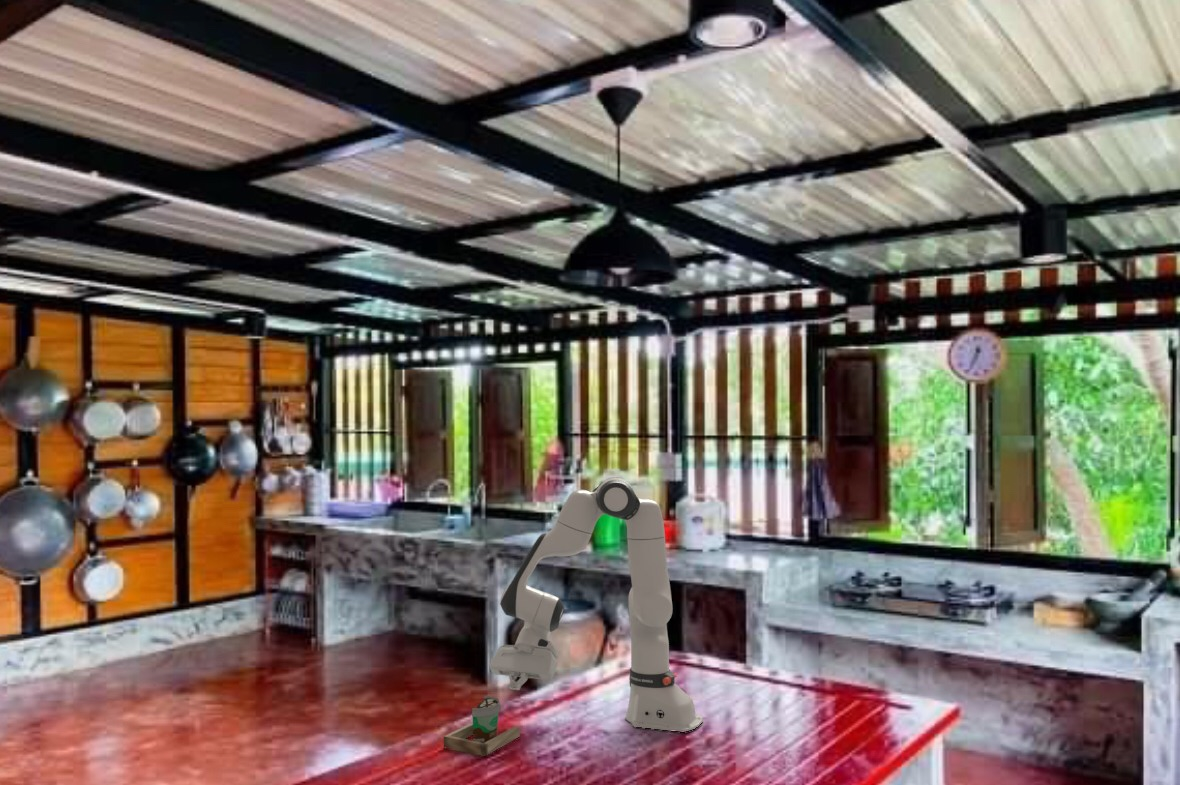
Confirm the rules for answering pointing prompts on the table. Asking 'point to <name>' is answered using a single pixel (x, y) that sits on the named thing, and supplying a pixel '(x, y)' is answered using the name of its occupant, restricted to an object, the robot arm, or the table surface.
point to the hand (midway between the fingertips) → (513, 688)
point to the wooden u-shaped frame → (462, 744)
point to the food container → (485, 719)
